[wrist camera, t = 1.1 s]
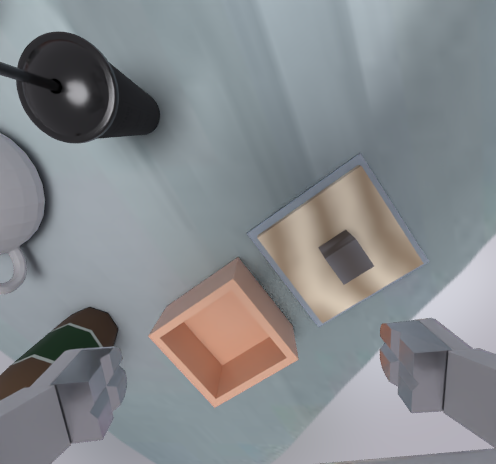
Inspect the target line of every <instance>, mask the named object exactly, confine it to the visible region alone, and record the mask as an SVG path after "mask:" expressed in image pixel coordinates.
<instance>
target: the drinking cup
mask: <svg viewBox="0 0 496 464" xmlns="http://www.w3.org/2000/svg"><path fill="white" fill-rule="evenodd" d="M0 75H2V76H5V77H9V78H12V79H15V80H16V84H17V91H18V95H19V98H20V101H21V104H22V106H23V108H24V110H25V112H26V113H27V115H28V116H29V118H30V119H31V120H32V122H33V123H34V124H35V125H36V126H37V127H38V128H39V129H40V130H42V131H43V132H44V133H46V134H47V135H49V136H50V137H52V138H54V139H57V140H59V141H63V142H67V143H86V142H89V141H92V140H95V139H97V138H109V137H122V136H134V135H145V134H148V133H150V132H152V131H153V130H154V129H155V128H156V127H157V125H158V122H159V117H160V113H159V108H158V106H157V104H156V102H155V101H154V99H153V98H152V97H151V96H149V95H148V94H147V93H146V92H144V91H143V90H142V89H141V88H140V87H138V86H137V85H136V84H135V83H133V82H132V81H131V80H130V79H129V78H127V77H126V76H125V75H124V74H122V73H121V72H120V71H119V70H118V69H116V68H115V67H114V66H113V65H111V64H110V63H109V62H108V61H107V59H106V58H105V56H104V55H103V54H102V53H101V52H100V51H99V50H98V49H97V48H96V47H95V46H94V45H92V44H91V43H90V42H88V41H87V40H85V39H83V38H81V37H79V36H77V35H75V34H71V33H67V32H51V33H46V34H43V35H41V36H39V37H37V38H36V39H34V40H33V41H32V42H31V43H30V44H29V45H28V46H27V47H26V48H25V50H24V51H23V53H22V55H21V57H20V59H19V62H18V67H17V68H16V67H13V66H11V65H8V64H5V63H2V62H0Z"/></svg>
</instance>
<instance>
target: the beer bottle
mask: <svg viewBox="0 0 496 464" xmlns="http://www.w3.org/2000/svg"><path fill="white" fill-rule="evenodd" d="M117 331H118V328H117V326H116V325H115V323H114V322H113V320H112V319H111V317H110V316H109V314H108V313H105V312H102V311H100V310H97V309H94V308H91V307H88V308H86V309H84V310H81V311H79V312H77V313H74V314H72V315H71V316H69V317H68V318H67V319H65V320H64V321H63V322H61V323H60V324H59V325H58V326H57V327H56V328H54V329H53V330H52V331H51V332H50V333H48V334H47V335H46V336H45V337H44V338H43V339H41V340H40V341H39V342H38V343H37V344H35V345H34V346H33V347H32V348H31V349H29V350H28V351H27V352H26V353H25V354H24V355H22V356H21V357H20V358H19V359H18V360H16V361H15V362H14V363H13V364H12V365H11V366H9V368H7V369H6V370H5V371H4V372H3V373H2V374H1V375H0V400H2V399H4V398H6V397H8V396H10V395H12V394H13V393H15V392H17V391H19V390H21V389H23V388H28V387H30V386H31V385H32V384H33V383H34V382H35V381H36V380H37V379H38V378H39V377H40V376H41V375H42V374H43V373H44V372H45V371H46V370H47V369H48V368H49V367H50V366H51V365H52V364H53V363H54V362H55V361H56V360H57V359H58V358H59V357H60V356H61V355H62V354H63V353H64V352H65V351H67V350H72V349H81V348H84V349H85V348H98V347H113V346H114V342H115V338H116V335H117Z"/></svg>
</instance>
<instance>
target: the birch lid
mask: <svg viewBox="0 0 496 464" xmlns="http://www.w3.org/2000/svg"><path fill="white" fill-rule="evenodd" d="M257 238H258V240H259V241H260V242H261V244H262V245H263V246H264V248H265V249H266V250H267V251H268V253H269V254H270V255H271V257H272V258H273V259H274V261H275V262H276V263H277V265H278V266H279V267H280V269H281V270H282V271H283V272H284V274H285V275H286V276H287V278H288V279H289V280H290V282H291V283H292V284H293V286H294V287H295V288H296V290H297V291H298V292H299V293H300V295H301V296H302V297H303V299H304V300H305V301H306V303H307V304H308V305H309V307H310V308H311V309H312V311H313V312H314V313H315V314H316V316H317V317H318V318H319V320H320V321H321V322H322V324H323V323H324V322H326V321H328V320H329V319H331V318H333V317H334V316H336V315H338V314H339V313H341V312H343V311H345V310H346V309H348V308H350V307H351V306H353V305H355V304H356V303H358V302H360V301H361V300H363V299H365V298H366V297H368V296H370V295H372V294H373V293H375V292H377V291H378V290H380V289H382V288H383V287H385V286H387V285H388V284H390V283H392V282H393V281H395V280H397V279H399V278H400V277H402V276H404V275H405V274H407V273H409V272H410V271H412V270H414V269H415V268H417V267H419V266H420V265H422V264H424V263H423V262H422V260H421V258H420V257H419V255H418V254H417V252H416V251H415V249H414V247H413V246H412V244H411V243H410V241H409V240H408V238H407V236H406V235H405V233H404V232H403V230H402V229H401V227H400V225H399V224H398V222H397V221H396V219H395V218H394V216H393V214H392V213H391V211H390V210H389V208H388V207H387V205H386V203H385V202H384V200H383V199H382V197H381V196H380V194H379V192H378V191H377V189H376V188H375V186H374V185H373V183H372V181H371V180H370V178H369V177H368V175H367V174H366V172H365V170H364V169H363V167H362V166H361V165H358V166H356V167H355V168H353V169H352V170H350V171H349V172H348V173H346V174H345V175H343V176H342V177H340V178H339V179H338V180H336V181H335V182H333V183H332V184H330V185H329V186H328V187H326V188H325V189H323V190H322V191H320V192H319V193H318V194H316V195H315V196H313V197H312V198H310V199H309V200H308V201H306V202H305V203H303V204H302V205H300V206H299V207H297V208H296V209H295V210H293V211H292V212H290V213H289V214H287V215H286V216H285V217H283V218H282V219H280V220H279V221H277V222H276V223H275V224H273V225H272V226H270V227H269V228H267V229H266V230H265V231H263V232H262V233H260V234H259V235H257Z"/></svg>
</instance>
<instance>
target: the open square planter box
mask: <svg viewBox="0 0 496 464" xmlns="http://www.w3.org/2000/svg"><path fill="white" fill-rule="evenodd" d="M149 338H150V339H151V340H152V341H153V342H154V343H155V344H156V345H157V346H158V347H159V348H160V349H161V350H162V352H163V353H164V354H165V355H166V356H167V357H168V358H169V359H170V360H171V361H172V362H173V363H174V364H175V366H176V367H177V368H178V369H179V370H180V371H181V372H182V373H183V374H184V375H185V376H186V377H187V378H188V380H189V381H190V382H191V383H192V384H193V385H194V386H195V387H196V388H197V389H198V390H199V391H200V392H201V394H202V395H203V396H204V397H205V398H206V399H207V400H208V401H209V402H210V403H211V404H212V405H213V406H214V408H215V407H217V406H219V405H220V404H222V403H224V402H225V401H227V400H229V399H231V398H232V397H234V396H236V395H238V394H239V393H241V392H243V391H245V390H246V389H248V388H250V387H252V386H253V385H255V384H257V383H259V382H260V381H262V380H264V379H266V378H267V377H269V376H271V375H272V374H274V373H276V372H278V371H279V370H281V369H283V368H285V367H286V366H288V365H290V364H292V363H293V362H295V361H297V360H299V359H298V354H297V348H296V342H295V337H294V331H293V326H292V324H291V323H290V322H289V321H288V319H287V318H286V317H285V316H284V314H283V313H282V312H281V310H280V309H279V308H278V307H277V305H276V304H275V303H274V302H273V300H272V299H271V298H270V297H269V295H268V294H267V293H266V292H265V290H264V289H263V288H262V286H261V285H260V284H259V283H258V281H257V280H256V279H255V278H254V276H253V275H252V274H251V273H250V271H249V270H248V269H247V267H246V266H245V265H244V264H243V262H242V261H241V260H240V259H239V257H237V258H236V259H234V260H233V261H231V262H230V263H228V264H227V265H226V266H224V267H223V268H221V269H220V270H218V271H217V272H216V273H214V274H213V275H211V276H210V277H208V278H207V279H205V280H204V281H203V282H201V283H200V284H198V285H197V286H195V287H194V288H192V289H191V290H190V291H188V292H187V293H185V294H184V295H182V296H181V297H179V298H178V299H177V300H175V301H174V302H172V303H171V304H169V305H168V306H167V307H166V308H165V310H164V311H163V313H162V315H161V316H160V318H159V319H158V321H157V323H156V324H155V326H154V327H153V329H152V331H151V332H150V334H149Z"/></svg>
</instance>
